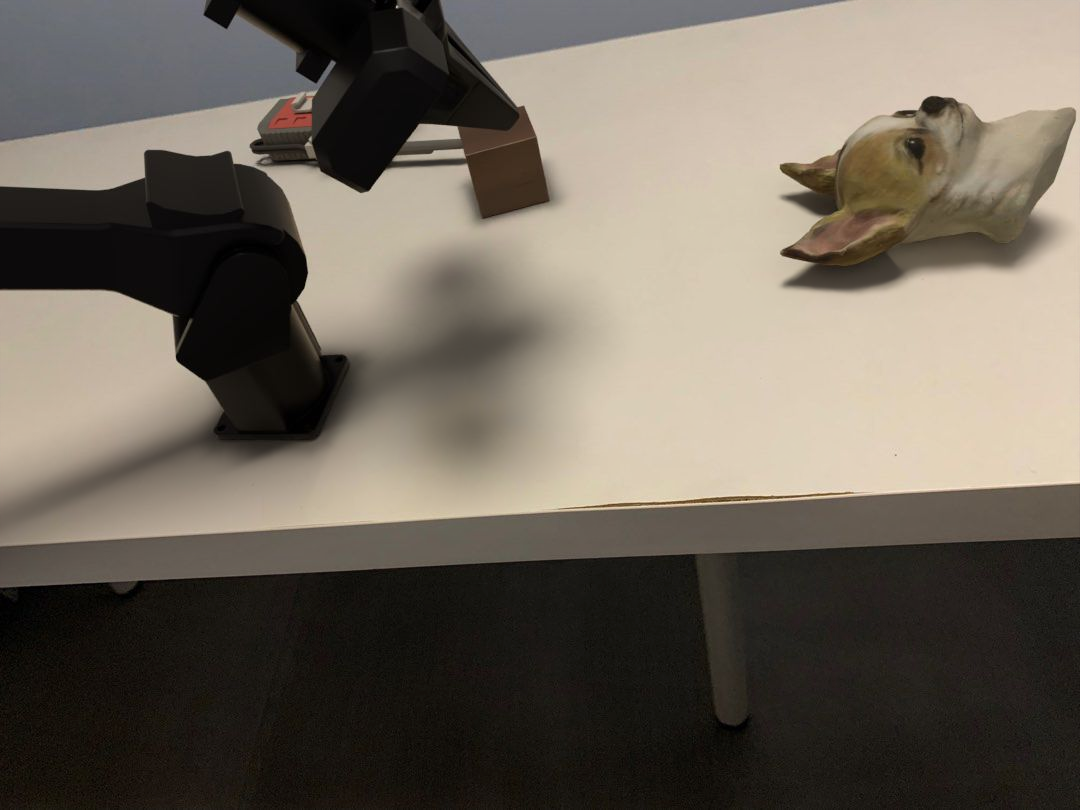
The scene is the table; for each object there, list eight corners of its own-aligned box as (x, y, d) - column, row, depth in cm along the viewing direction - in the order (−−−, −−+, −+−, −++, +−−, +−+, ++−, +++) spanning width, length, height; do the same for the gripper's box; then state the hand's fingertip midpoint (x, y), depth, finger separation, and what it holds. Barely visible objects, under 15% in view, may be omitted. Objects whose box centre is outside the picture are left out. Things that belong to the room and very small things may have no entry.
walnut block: (549, 200, 60) (536, 136, 57) (482, 218, 60) (464, 155, 57) (536, 167, 64) (524, 105, 60) (473, 184, 64) (456, 123, 60)
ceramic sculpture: (1111, 132, 39) (775, 169, 44) (1075, 281, 45) (782, 300, 50) (1059, 33, 46) (775, 74, 51) (1034, 173, 52) (781, 199, 57)
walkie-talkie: (244, 177, 72) (465, 168, 66) (221, 129, 68) (450, 115, 63) (288, 124, 77) (494, 111, 72) (268, 78, 74) (482, 60, 68)
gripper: (317, -216, 24) (679, 86, 33) (317, -327, 36) (581, -85, 45) (154, 89, 29) (502, 277, 38) (202, -97, 42) (457, 79, 51)
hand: (513, 120), depth 43 cm, fingers closed
